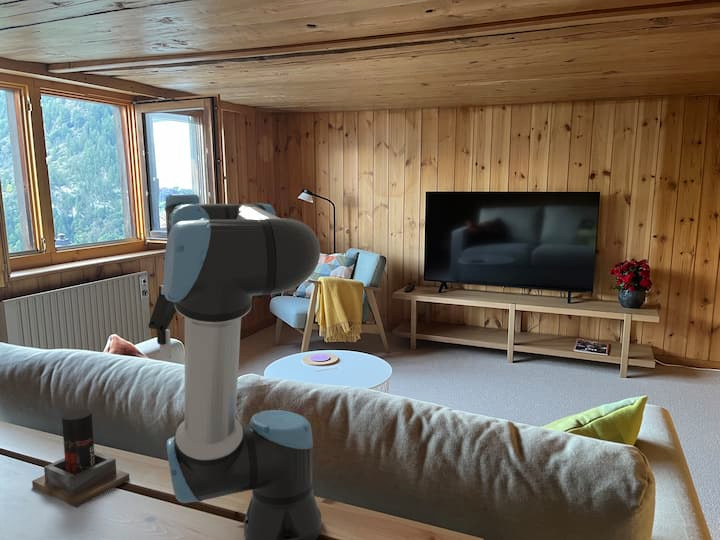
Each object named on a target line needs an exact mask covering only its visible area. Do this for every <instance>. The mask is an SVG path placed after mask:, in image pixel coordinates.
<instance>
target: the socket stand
mask: <svg viewBox="0 0 720 540" xmlns="http://www.w3.org/2000/svg"><path fill="white" fill-rule="evenodd" d="M94 454H95V466H93V467H91V468H89V469H87V470H84V471H82V472H80V473H78V474H76V475H73V474H71V473H68V472H66V466H65V457H64V458H62V459H59V460H57V461H54V462H52V463H50V464H48V465H45V466H44V468H43V471H44V475H42V476H40V477H37V478H36V479H33V480H31V483H32V488H34V489H36V490H38V491H40V492H42V493H45V494H47V495H49V496H50V497H53V498H55V499H58V500H59V501H61V502H63V503H66V504H68V505H70V506H72V507H75V508H78V506H79V507H81V506H82V504H83V505H84V504H86V503H89V502H91V501H92V500H94V499H96V498H97V496H98V497H100V496H101V495H100V494H102V493H103V494H105V493H107V492H109V491H111V490H113V489H115V488H117V487H119V486H120V485H123V484H124V483H126V482H129V481H130V480H131V479H130V473H129V472H126V471H124V470H121V469H118V468H117V464H116V462H117V461H116V457H115V458H114V457H112V456H109V455H107V454H104V453H101V452H99V451H96V450H94ZM112 488H113V489H112ZM110 489H111V490H110ZM108 490H109V491H108ZM106 491H107V492H106ZM104 492H105V493H104ZM103 494H102V495H103ZM99 495H100V496H99ZM95 497H96V498H95ZM93 498H94V499H93ZM80 505H81V506H80Z"/></svg>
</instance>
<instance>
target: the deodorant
mask: <svg viewBox="0 0 720 540" xmlns="http://www.w3.org/2000/svg"><path fill="white" fill-rule="evenodd" d="M61 421H62V425H61V426H62V437H63V439H62V440H63V451H64V458H65V466H66V472H68V473H71V474H73V475H76V474H78V473H80V472H82V471H84V470H87V469H89V468H91V467H93V466H95V454H94V451H95V442H94V441H95V440H94V428H93V427H94V425H93V413H92V410H90V409H87V408H86V409H85V408H82V409H81V408H79V409H74V410H70V411H68V412H65V413H63V415H61Z"/></svg>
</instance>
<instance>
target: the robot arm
mask: <svg viewBox="0 0 720 540" xmlns="http://www.w3.org/2000/svg"><path fill="white" fill-rule="evenodd" d="M164 211H165V221H166V222H165V223H166V224H165V225H166V237H167V239H166V243H165V244H166V245H165V251H164V259H163V260H164V261H163V268H164V269H163V285H162V284H160V285H159V286H158V296H157V299H156V302H155V305H154V307H153V311H152V314H151V317H150V319H149V323H148V328H149V329H150V330H151V329H152V330H155V331H156V340H157V341H156V342H157V345H159V357H160V358H162V359H167V360H171V359H172V348H171V347H172V345H171V330H170V329H168V327H169V326H170V324H171V321H172V320H173V318H174V317H175V314H176V313H178V314H179V315H180V316H182V317H183V318H184V420H183V421H182V422H181V423H180V424H179V425H178V427H177V428H176V431H175V436H174V435H173V436H172V437H169V438H168V439H167V440H166V453H167V459H168V467H169V470H170V471H169V472H170V478H171V484H172V489H173V493H174V496H175V499H176V500H177V501H178V502H179V503H182V504H188V503H194V502H198V503H200V502H203V501H207V500H212V499H216V498H220V497H224V496H229V495H234V494H239V493H243V492H247V491H252V496H251V498H250V501H249V505H248V508H247V511H246V514H245V517H244V519H243V534H244V539H245V540H317V539H318V537H319V536H320V534H321V532H322V514H321V511H320V508H319V506H318V504H317V501H316V498H315V493H314V490H313V446H314V441H313V433H312V426H311V424H310V422H309V421H308V419H307V418H305V417H304V416H302V415H301V414H298V413H295V412H293V411H288V410H280V409H270V410H263V411H259V412H258V413H254V414H253V415H252V417H251V419H250V421H249V424H248V425H242V424H241V422H240V421H239V420H238V418H236V414H237V395H238V380H239V379H238V378H239V360H240V359H239V358H240V345H241V343H240V342H241V328H242V318H244V317H245V316H246V315H247V314H248V313H249V312H250V311H251V310H252V306H253V296H263V295H264V296H266V295H275V294H277V295H278V294H281V293H285V292H288V291H291V290H293V289H295V288H297V287H299V286H301V285H302V284H303V283H305V282H306V281H307V280H308V279H309V278H310V277H311V276H312V275H313V273H314V272H315V270H316V268H317V266H318V265H319V260H320V258H321V257H320V256H321V244H320V241H319V238H318V236H317V234H316V232H315V231H314V230H313V229H312V228H311V227H310V226H309V225H307V224H306V223H304V222H303V221H300V220H298V219H295V218H291V217H290V218H289V217H286V218H281V217H278V216H276V211H275V210H274V207H273V205H271V204H269V203H268V204H267V203H261V202H255V203H201V202H200V197H199V196H198V195H197V194H195V193H194V194H191V193H190V194H188V193H187V194H183V193H181V194H179V193H178V194H177V193H175V194H167V195H166V197H165V207H164Z"/></svg>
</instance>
